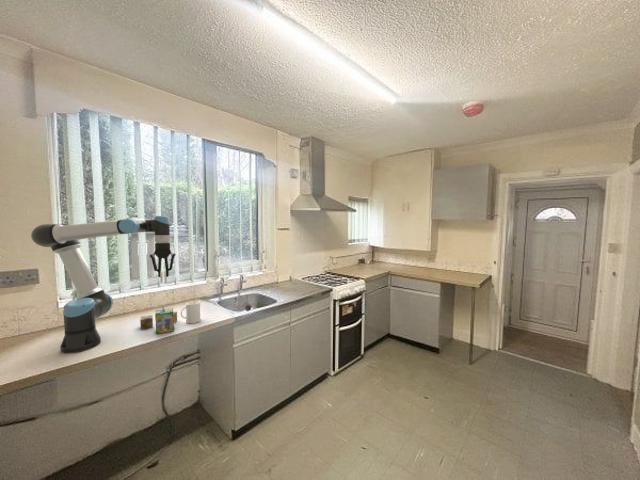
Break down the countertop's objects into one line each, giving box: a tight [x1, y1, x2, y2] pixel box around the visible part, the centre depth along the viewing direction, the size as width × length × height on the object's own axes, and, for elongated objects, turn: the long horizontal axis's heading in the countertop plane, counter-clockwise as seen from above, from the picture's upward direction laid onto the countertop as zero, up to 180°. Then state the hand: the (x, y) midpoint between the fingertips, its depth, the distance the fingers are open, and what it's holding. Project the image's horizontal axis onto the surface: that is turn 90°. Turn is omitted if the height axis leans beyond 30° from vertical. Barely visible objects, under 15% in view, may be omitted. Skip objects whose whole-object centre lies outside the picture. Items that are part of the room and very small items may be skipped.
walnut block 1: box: [139, 314, 154, 330], centre depth 158 cm, size 6×6×6 cm
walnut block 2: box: [173, 311, 178, 324], centre depth 165 cm, size 6×6×6 cm
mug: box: [180, 300, 201, 324], centre depth 167 cm, size 12×8×12 cm
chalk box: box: [154, 304, 175, 335], centre depth 153 cm, size 9×9×15 cm
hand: (163, 282), depth 152 cm, fingers closed
